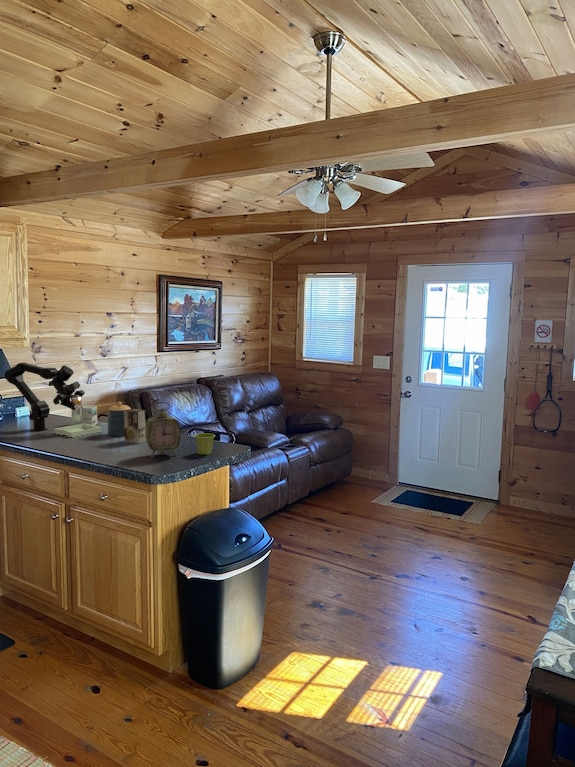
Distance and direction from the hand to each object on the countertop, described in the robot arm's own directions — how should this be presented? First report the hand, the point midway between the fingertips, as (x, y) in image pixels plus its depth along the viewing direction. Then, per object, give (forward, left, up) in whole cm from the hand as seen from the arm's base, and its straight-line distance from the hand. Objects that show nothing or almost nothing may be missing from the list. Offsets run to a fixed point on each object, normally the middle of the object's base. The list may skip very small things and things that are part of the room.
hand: (78, 409), depth 306 cm
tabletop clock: (+69, -2, -14) cm, 70 cm away
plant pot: (+81, +13, -14) cm, 83 cm away
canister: (+18, +13, -14) cm, 26 cm away
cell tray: (-2, +1, -13) cm, 14 cm away
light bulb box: (-17, +16, -14) cm, 27 cm away
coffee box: (+37, +8, -14) cm, 40 cm away
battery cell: (-1, 0, -7) cm, 7 cm away
